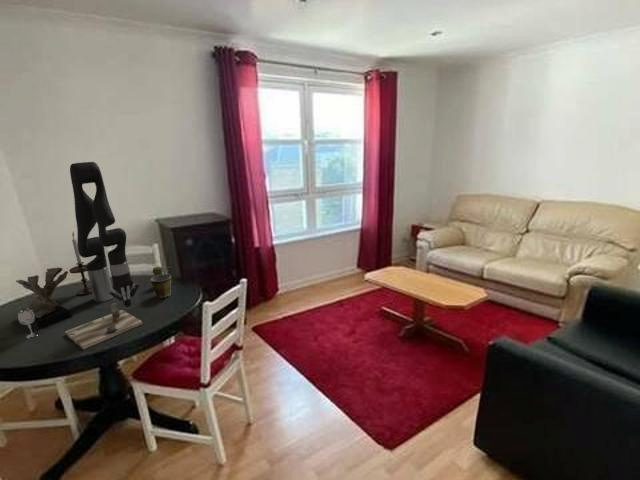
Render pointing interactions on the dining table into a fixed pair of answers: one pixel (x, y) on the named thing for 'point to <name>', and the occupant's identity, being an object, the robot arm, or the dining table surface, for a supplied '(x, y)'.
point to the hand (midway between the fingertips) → (127, 306)
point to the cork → (157, 271)
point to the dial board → (101, 329)
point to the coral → (46, 299)
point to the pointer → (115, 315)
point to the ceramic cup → (162, 285)
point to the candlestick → (80, 270)
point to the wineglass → (27, 319)
